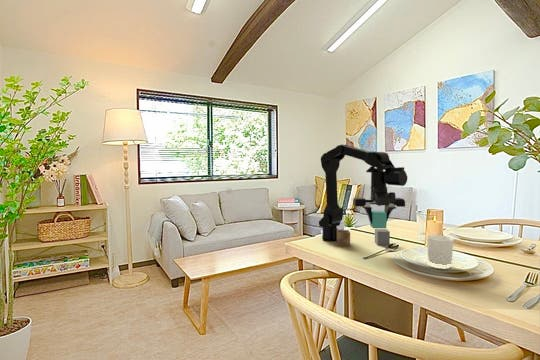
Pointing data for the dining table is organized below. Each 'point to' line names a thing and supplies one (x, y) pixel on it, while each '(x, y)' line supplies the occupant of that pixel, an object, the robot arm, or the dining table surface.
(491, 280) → the dining table surface
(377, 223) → the teal block
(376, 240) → the grey block
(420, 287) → the dining table surface
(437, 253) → the white cup
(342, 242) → the walnut block
